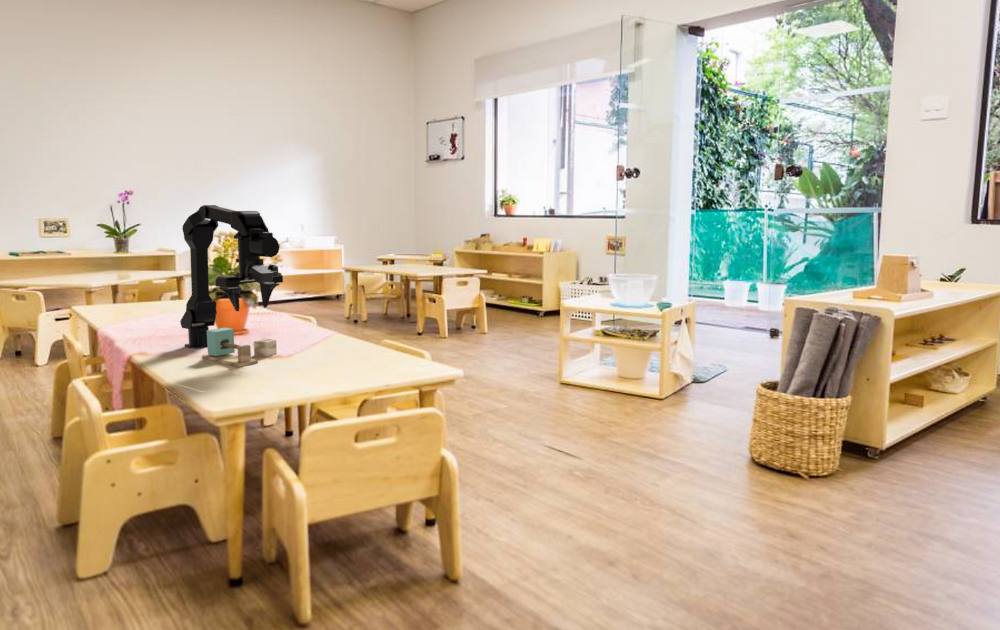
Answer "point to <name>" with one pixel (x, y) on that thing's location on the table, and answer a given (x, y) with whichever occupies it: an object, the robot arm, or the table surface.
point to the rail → (234, 356)
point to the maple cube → (265, 347)
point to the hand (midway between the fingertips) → (251, 309)
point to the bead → (214, 341)
